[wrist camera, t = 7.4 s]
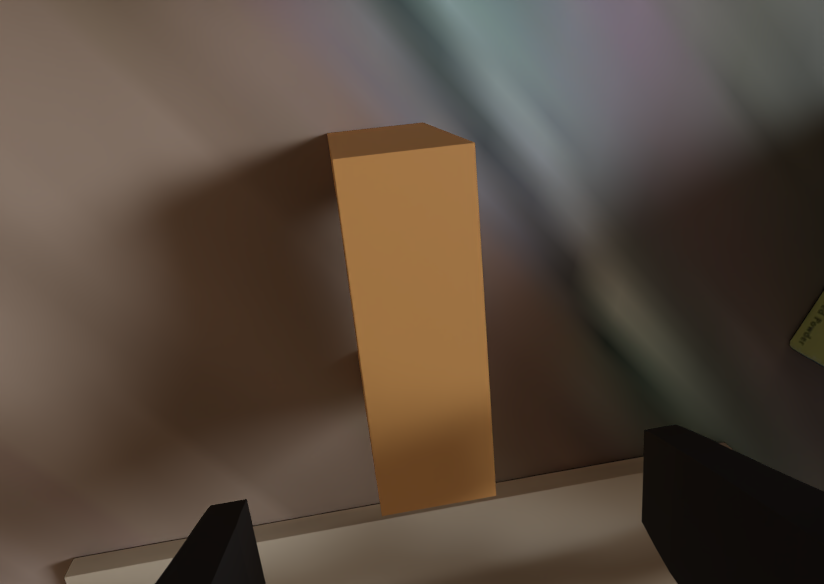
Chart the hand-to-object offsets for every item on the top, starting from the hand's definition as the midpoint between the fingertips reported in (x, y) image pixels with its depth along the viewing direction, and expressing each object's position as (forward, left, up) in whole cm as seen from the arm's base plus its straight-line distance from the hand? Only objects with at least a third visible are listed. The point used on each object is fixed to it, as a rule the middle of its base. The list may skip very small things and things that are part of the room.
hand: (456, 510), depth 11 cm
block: (+2, 0, -8) cm, 8 cm away
